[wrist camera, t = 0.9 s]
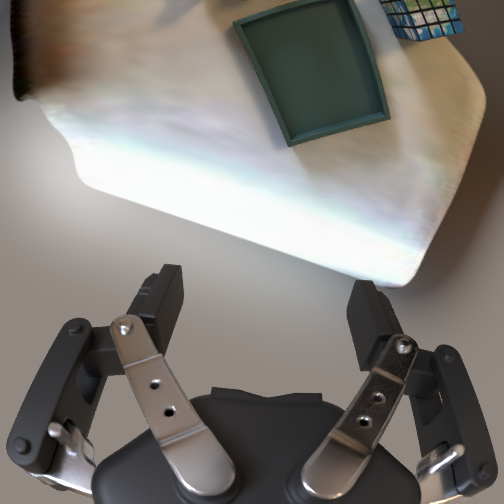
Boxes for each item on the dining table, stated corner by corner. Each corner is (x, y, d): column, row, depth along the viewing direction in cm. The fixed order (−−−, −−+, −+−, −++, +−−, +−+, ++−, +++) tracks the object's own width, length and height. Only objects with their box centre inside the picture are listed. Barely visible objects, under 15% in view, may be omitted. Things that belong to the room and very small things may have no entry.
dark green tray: (234, 23, 23) (232, 22, 22) (345, -8, 20) (349, -11, 18) (287, 141, 33) (288, 147, 31) (385, 114, 29) (391, 119, 27)
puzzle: (437, 28, 20) (466, 32, 16) (396, 38, 22) (420, 41, 18) (417, -17, 17) (444, -22, 12) (373, -9, 19) (394, -15, 15)
